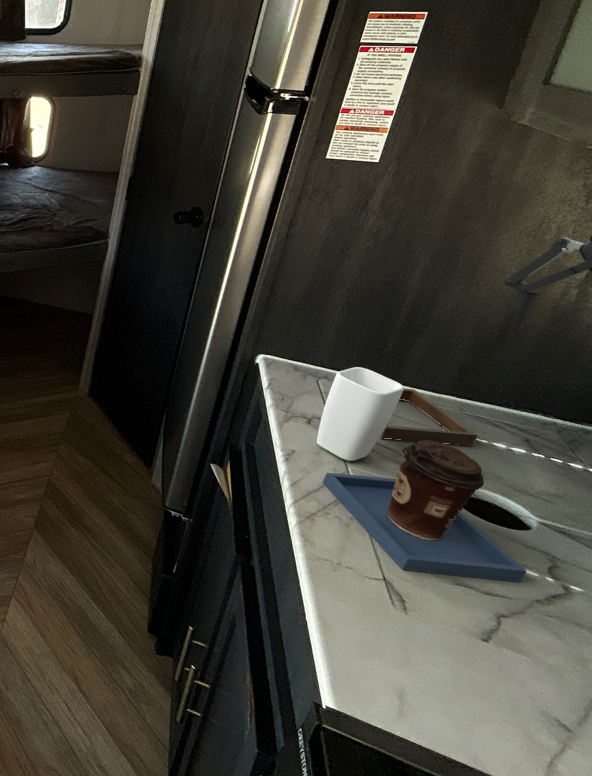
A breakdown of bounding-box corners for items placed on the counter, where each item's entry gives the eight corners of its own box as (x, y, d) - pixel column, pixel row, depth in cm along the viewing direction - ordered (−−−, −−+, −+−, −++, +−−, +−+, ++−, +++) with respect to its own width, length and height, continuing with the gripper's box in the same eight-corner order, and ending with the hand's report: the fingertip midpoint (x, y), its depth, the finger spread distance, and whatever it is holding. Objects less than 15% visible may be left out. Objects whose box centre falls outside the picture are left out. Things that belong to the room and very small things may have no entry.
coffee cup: (370, 521, 95) (402, 452, 90) (378, 495, 101) (409, 428, 96) (449, 556, 89) (488, 484, 84) (454, 526, 95) (491, 457, 90)
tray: (520, 582, 86) (527, 571, 85) (402, 570, 88) (407, 558, 87) (420, 491, 102) (425, 481, 101) (322, 482, 104) (326, 472, 103)
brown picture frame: (471, 446, 113) (477, 435, 112) (381, 439, 115) (386, 428, 114) (409, 399, 126) (414, 389, 125) (329, 393, 128) (333, 383, 127)
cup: (331, 434, 116) (359, 365, 110) (377, 459, 109) (409, 387, 104) (304, 443, 113) (332, 372, 108) (349, 468, 107) (381, 395, 101)
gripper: (512, 200, 100) (460, 321, 108) (789, 245, 80) (702, 391, 87) (529, 196, 104) (478, 313, 111) (800, 238, 83) (716, 379, 90)
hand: (577, 347), depth 99 cm, fingers open, 13 cm apart
